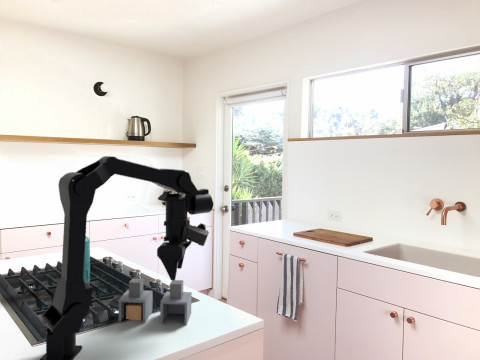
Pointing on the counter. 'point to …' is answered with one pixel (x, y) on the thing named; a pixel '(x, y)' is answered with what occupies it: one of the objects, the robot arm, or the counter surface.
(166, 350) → the counter surface
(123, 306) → the cover
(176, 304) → the cover
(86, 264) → the beverage bottle
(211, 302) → the counter surface
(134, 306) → the brown cube
